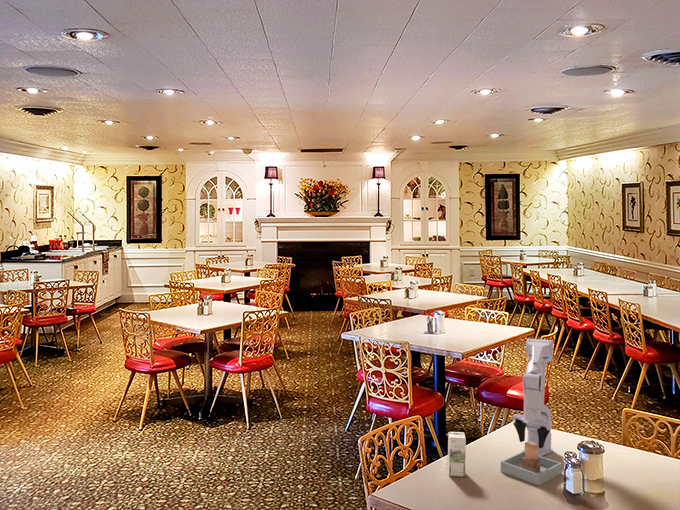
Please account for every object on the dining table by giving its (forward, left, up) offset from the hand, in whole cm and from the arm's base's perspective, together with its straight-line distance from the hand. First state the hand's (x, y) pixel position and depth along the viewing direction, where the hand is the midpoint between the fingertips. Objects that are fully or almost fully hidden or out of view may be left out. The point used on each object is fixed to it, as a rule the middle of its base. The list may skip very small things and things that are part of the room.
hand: (531, 444), depth 215 cm
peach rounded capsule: (0, 0, -5) cm, 5 cm away
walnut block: (0, 0, -10) cm, 10 cm away
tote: (0, 0, -10) cm, 10 cm away
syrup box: (+21, -17, -11) cm, 29 cm away
